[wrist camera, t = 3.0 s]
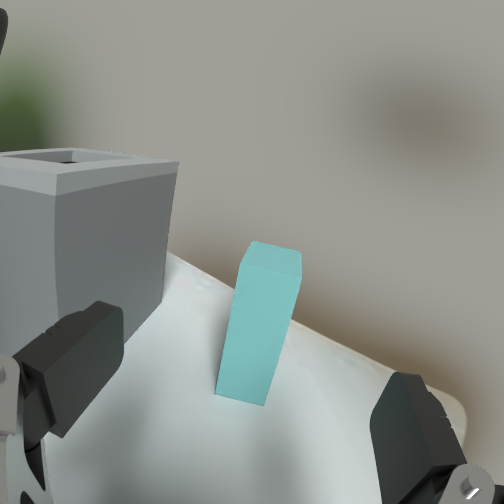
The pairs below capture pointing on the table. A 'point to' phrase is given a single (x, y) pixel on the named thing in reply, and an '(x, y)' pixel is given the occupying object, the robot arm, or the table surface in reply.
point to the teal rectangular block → (258, 321)
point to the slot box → (80, 237)
